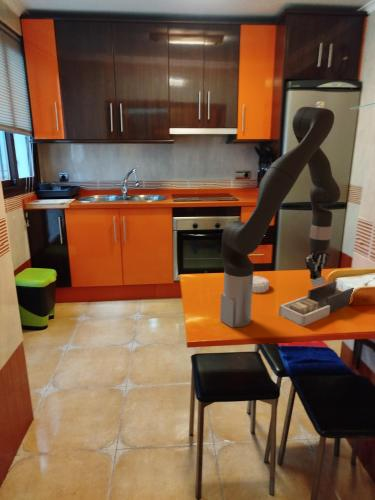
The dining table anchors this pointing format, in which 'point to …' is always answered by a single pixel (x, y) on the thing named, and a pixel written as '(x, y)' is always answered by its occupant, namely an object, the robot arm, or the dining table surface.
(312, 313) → the tray
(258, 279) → the mooncake
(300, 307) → the chip
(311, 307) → the chip
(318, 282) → the scraper tool
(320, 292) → the slot block
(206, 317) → the dining table surface
